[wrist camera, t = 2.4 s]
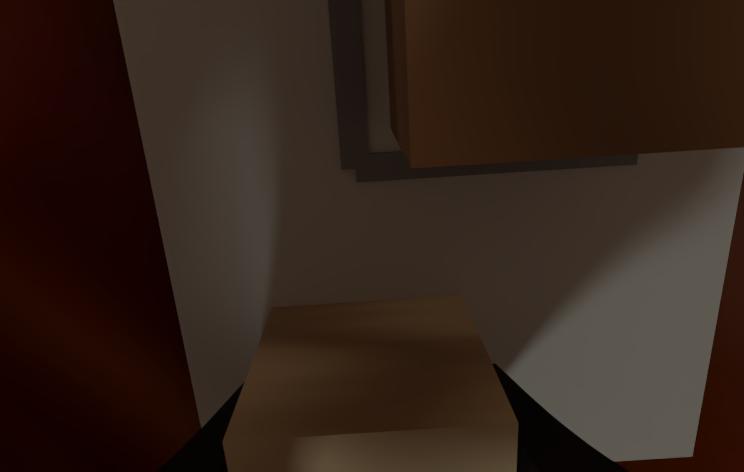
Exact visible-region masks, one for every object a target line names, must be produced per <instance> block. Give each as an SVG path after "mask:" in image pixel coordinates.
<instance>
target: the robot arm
mask: <svg viewBox="0 0 744 472" xmlns="http://www.w3.org/2000/svg"><path fill="white" fill-rule="evenodd" d="M492 365H493V367H494V369H495V371H496V374H497V376H498V378H499V380H500V383H501V385H502V387H503V389H504V392H505V394H506V396H507V398H508V401H509V403H510V405H511V407H512V410H513V412H514V414H515V416H516V419H517V421H518V447H517V472H629V471H627V470H626V469H624V468H623V467H621V466H620V465H618V464H617V463H615V462H614V461H612V460H611V459H609V458H608V457H606V456H605V455H603V454H602V453H600V452H599V451H597V450H596V449H595V448H593V447H592V446H590V445H589V444H588V443H586V442H585V441H584V440H582V439H581V438H580V437H578V436H577V435H576V434H575V433H573V432H572V431H571V430H569V429H568V428H567V427H565V426H564V425H563V424H562V423H561V422H559V421H558V420H557V419H556V418H555V417H553V416H552V415H551V414H550V413H549V412H548V411H546V410H545V409H544V408H543V407H542V406H541V405H540V404H538V403H537V402H536V401H535V400H534V399H533V398H532V397H531V396H530V395H529V394H527V393H526V392H525V391H524V390H523V389H522V388H521V387H520V386H519V385H518V384H517V383H516V382H515V381H514V380H513V379H511V378H510V377H509V376H508V375H507V374H506V373H505V372H504V371H503V370H502V369H501V368H500V367H499V366H498V365H497V364H495V363H493V364H492ZM243 385H244V383H243V384H242V385H241V386H240V387H239V388H238V389H237V390H236V391H235V392H234V393H233V394H232V396H231V397H230V398H229V399H228V400H227V401H226V402H225V403H224V404H223V406H222V407H221V408H220V409H219V410H218V411H217V412H216V413H215V414H214V415H213V417H212V418H211V419H210V420H209V421H208V422H207V423H206V424H205V425H204V426H203V427H202V428H201V429H200V430H199V431H198V432H197V433H196V435H195V436H194V437H193V438H192V439H191V440H190V441H189V442H188V443H187V444H186V445H185V446H184V447H182V448H181V449H180V450H179V451H178V452H177V453H176V454H175V455H174V456H173V457H172V458H171V459H170V460H169V461H168V462H167V463H166V464H165V465H164V466H163V467H162V468H161V469H159V470H158V471H157V472H228V469H227V464H226V458H225V453H224V448H223V443H222V442H223V439H224V436H225V434H226V431H227V428H228V426H229V423H230V420H231V417H232V415H233V412H234V409H235V407H236V404H237V401H238V399H239V396H240V393H241V390H242V388H243Z"/></svg>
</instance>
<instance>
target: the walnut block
mask: <svg viewBox="0 0 744 472" xmlns="http://www.w3.org/2000/svg"><path fill="white" fill-rule="evenodd" d="M384 4H385V25H386V46H387V67H388V88H389V109H390V128H391V130H392V132H393V134H394V136H395V138H396V140H397V142H398V144H399V146H400V148H401V150H402V152H403V154H404V156H405V158H406V160H407V162H408V164H409V166H410V168H427V167H443V166H459V165H474V164H490V163H506V162H521V161H537V160H553V159H568V158H584V157H600V156H615V155H631V154H647V153H663V152H678V151H694V150H710V149H725V148H741V147H744V0H384Z"/></svg>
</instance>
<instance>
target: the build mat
mask: <svg viewBox="0 0 744 472" xmlns="http://www.w3.org/2000/svg"><path fill="white" fill-rule="evenodd" d="M113 2H114V7H115V12H116V17H117V21H118V26H119V31H120V36H121V41H122V46H123V51H124V55H125V60H126V65H127V70H128V75H129V80H130V85H131V90H132V94H133V99H134V104H135V109H136V114H137V119H138V124H139V128H140V133H141V138H142V143H143V148H144V153H145V158H146V162H147V167H148V172H149V177H150V182H151V187H152V192H153V196H154V201H155V206H156V211H157V216H158V221H159V226H160V231H161V235H162V240H163V245H164V250H165V255H166V260H167V265H168V269H169V274H170V279H171V284H172V289H173V294H174V299H175V303H176V308H177V313H178V318H179V323H180V328H181V333H182V337H183V342H184V347H185V352H186V357H187V362H188V367H189V372H190V376H191V381H192V386H193V391H194V396H195V401H196V406H197V410H198V415H199V420H200V425H201V428H202V427H203V426H204V425H205V424H206V423H207V422H208V421H209V420H210V419H211V418H212V417H213V415H214V414H215V413H216V412H217V411H218V410H219V409H220V408H221V407H222V406H223V404H224V403H225V402H226V401H227V400H228V399H229V398H230V397H231V396H232V394H233V393H234V392H235V391H236V390H237V389H238V388H239V387H240V386H241V385H242V384H243V383H244V382H245V380H246V377H247V374H248V372H249V369H250V366H251V363H252V361H253V358H254V355H255V353H256V350H257V347H258V344H259V342H260V339H261V336H262V334H263V331H264V328H265V326H266V323H267V320H268V317H269V315H270V312H271V309H272V307H286V306H302V305H317V304H333V303H348V302H364V301H380V300H395V299H411V298H426V297H442V296H458V295H462V297H463V300H464V302H465V304H466V306H467V309H468V311H469V313H470V315H471V317H472V320H473V322H474V324H475V326H476V329H477V331H478V333H479V335H480V338H481V340H482V342H483V344H484V347H485V349H486V351H487V353H488V356H489V358H490V360H491V362H492V364H493V363H495V364H497V365H498V366H499V367H500V368H501V369H502V370H503V371H504V372H505V373H506V374H507V375H508V376H509V377H510V378H511V379H513V380H514V381H515V382H516V383H517V384H518V385H519V386H520V387H521V388H522V389H523V390H524V391H525V392H526V393H527V394H529V395H530V396H531V397H532V398H533V399H534V400H535V401H536V402H537V403H538V404H540V405H541V406H542V407H543V408H544V409H545V410H546V411H548V412H549V413H550V414H551V415H552V416H553V417H555V418H556V419H557V420H558V421H559V422H561V423H562V424H563V425H564V426H565V427H567V428H568V429H569V430H571V431H572V432H573V433H575V434H576V435H577V436H578V437H580V438H581V439H582V440H584V441H585V442H586V443H588V444H589V445H590V446H592V447H593V448H595V449H596V450H597V451H599V452H600V453H602V454H603V455H605V456H606V457H608V458H609V459H611V460H612V461H629V460H645V459H660V458H676V457H691V456H692V455H693V450H694V444H695V439H696V433H697V428H698V422H699V416H700V411H701V405H702V400H703V394H704V389H705V383H706V378H707V372H708V366H709V361H710V355H711V350H712V344H713V339H714V333H715V327H716V322H717V316H718V311H719V305H720V300H721V294H722V289H723V283H724V277H725V272H726V266H727V261H728V255H729V250H730V244H731V239H732V233H733V227H734V222H735V216H736V211H737V205H738V200H739V194H740V189H741V183H742V177H743V172H744V147H741V148H725V149H710V150H694V151H678V152H663V153H647V154H631V155H615V156H600V157H584V158H568V159H553V160H537V161H521V162H506V163H490V164H474V165H459V166H443V167H427V168H410V166H409V164H408V162H407V160H406V158H405V156H404V154H403V152H402V150H401V148H400V146H399V144H398V142H397V140H396V138H395V136H394V134H393V132H392V130H391V128H390V109H389V88H388V67H387V46H386V25H385V4H384V0H113Z"/></svg>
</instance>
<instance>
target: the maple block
mask: <svg viewBox="0 0 744 472" xmlns="http://www.w3.org/2000/svg"><path fill="white" fill-rule="evenodd" d="M222 443H223V448H224V453H225V458H226V464H227V469H228V472H517V447H518V421H517V419H516V416H515V414H514V412H513V410H512V407H511V405H510V403H509V401H508V398H507V396H506V394H505V392H504V389H503V387H502V385H501V383H500V380H499V378H498V376H497V374H496V371H495V369H494V367H493V365H492V362H491V360H490V358H489V356H488V353H487V351H486V349H485V347H484V344H483V342H482V340H481V338H480V335H479V333H478V331H477V329H476V326H475V324H474V322H473V320H472V317H471V315H470V313H469V311H468V309H467V306H466V304H465V302H464V300H463V297H462V295H458V296H442V297H426V298H411V299H395V300H380V301H364V302H348V303H333V304H317V305H302V306H286V307H272V309H271V312H270V315H269V317H268V320H267V323H266V326H265V328H264V331H263V334H262V336H261V339H260V342H259V344H258V347H257V350H256V353H255V355H254V358H253V361H252V363H251V366H250V369H249V372H248V374H247V377H246V380H245V382H244V385H243V388H242V390H241V393H240V396H239V399H238V401H237V404H236V407H235V409H234V412H233V415H232V417H231V420H230V423H229V426H228V428H227V431H226V434H225V436H224V439H223V442H222Z"/></svg>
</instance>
